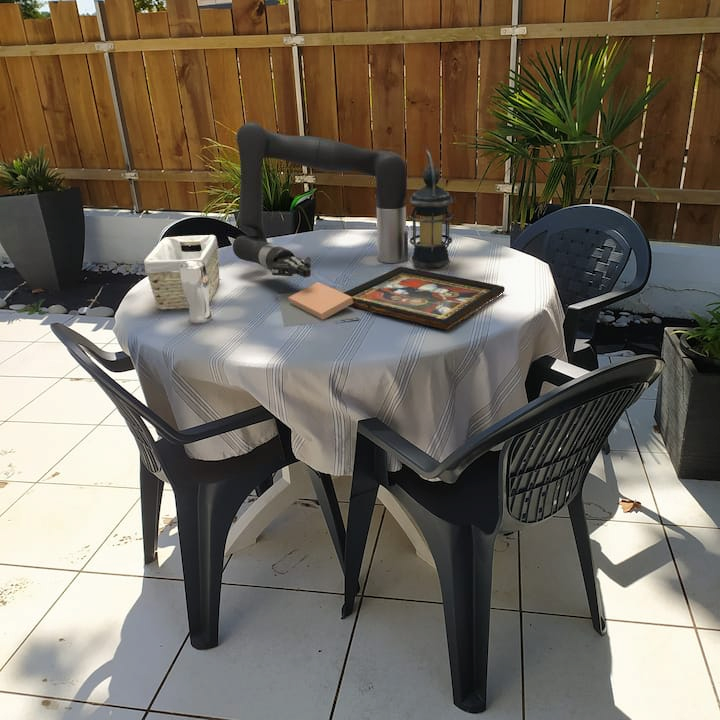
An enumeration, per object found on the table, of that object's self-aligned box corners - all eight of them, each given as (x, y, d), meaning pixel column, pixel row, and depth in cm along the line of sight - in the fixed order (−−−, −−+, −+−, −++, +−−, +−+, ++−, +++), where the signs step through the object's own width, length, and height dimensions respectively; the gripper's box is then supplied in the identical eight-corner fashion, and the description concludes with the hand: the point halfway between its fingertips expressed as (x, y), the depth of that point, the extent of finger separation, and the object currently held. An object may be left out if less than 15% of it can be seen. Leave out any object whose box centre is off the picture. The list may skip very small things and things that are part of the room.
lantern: (454, 272, 198) (457, 152, 183) (410, 273, 199) (409, 154, 183) (449, 257, 211) (451, 144, 196) (408, 259, 212) (407, 146, 196)
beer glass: (217, 314, 175) (209, 260, 168) (209, 324, 169) (201, 268, 162) (192, 314, 176) (183, 260, 169) (183, 324, 170) (174, 269, 163)
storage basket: (210, 310, 178) (202, 257, 172) (150, 312, 178) (140, 260, 172) (224, 281, 200) (217, 233, 193) (171, 283, 200) (162, 236, 193)
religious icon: (509, 288, 183) (510, 279, 182) (460, 335, 156) (461, 324, 155) (389, 271, 201) (389, 262, 200) (327, 310, 174) (326, 300, 173)
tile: (288, 297, 177) (321, 313, 166) (317, 282, 182) (351, 297, 170) (290, 303, 178) (323, 320, 167) (319, 288, 183) (353, 303, 171)
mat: (343, 289, 189) (343, 287, 188) (358, 320, 167) (358, 318, 167) (277, 296, 186) (277, 294, 185) (284, 328, 164) (284, 326, 164)
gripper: (254, 251, 183) (285, 265, 171) (295, 242, 190) (327, 255, 177) (257, 276, 187) (287, 292, 174) (297, 266, 193) (329, 281, 181)
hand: (308, 273), depth 176 cm, fingers closed
